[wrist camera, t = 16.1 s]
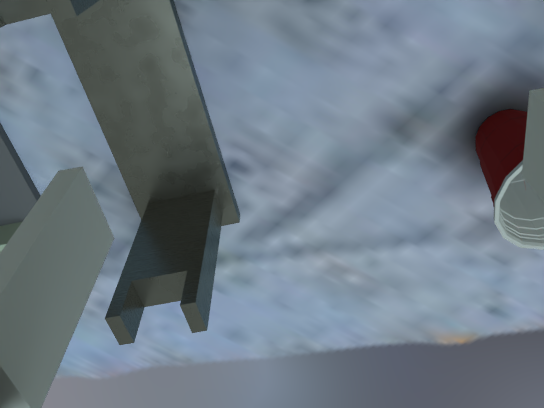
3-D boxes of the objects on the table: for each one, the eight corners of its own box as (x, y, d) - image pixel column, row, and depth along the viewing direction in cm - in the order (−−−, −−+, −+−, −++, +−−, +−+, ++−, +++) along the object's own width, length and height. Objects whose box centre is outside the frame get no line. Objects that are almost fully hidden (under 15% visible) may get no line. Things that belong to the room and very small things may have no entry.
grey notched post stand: (24, -66, 41) (-120, -35, 26) (142, -99, 40) (64, -86, 25) (152, 231, 57) (110, 360, 41) (240, 214, 55) (229, 340, 40)
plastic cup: (489, 202, 55) (539, 275, 45) (427, 139, 51) (467, 203, 41) (582, 135, 51) (661, 198, 41) (523, 60, 47) (594, 110, 36)
